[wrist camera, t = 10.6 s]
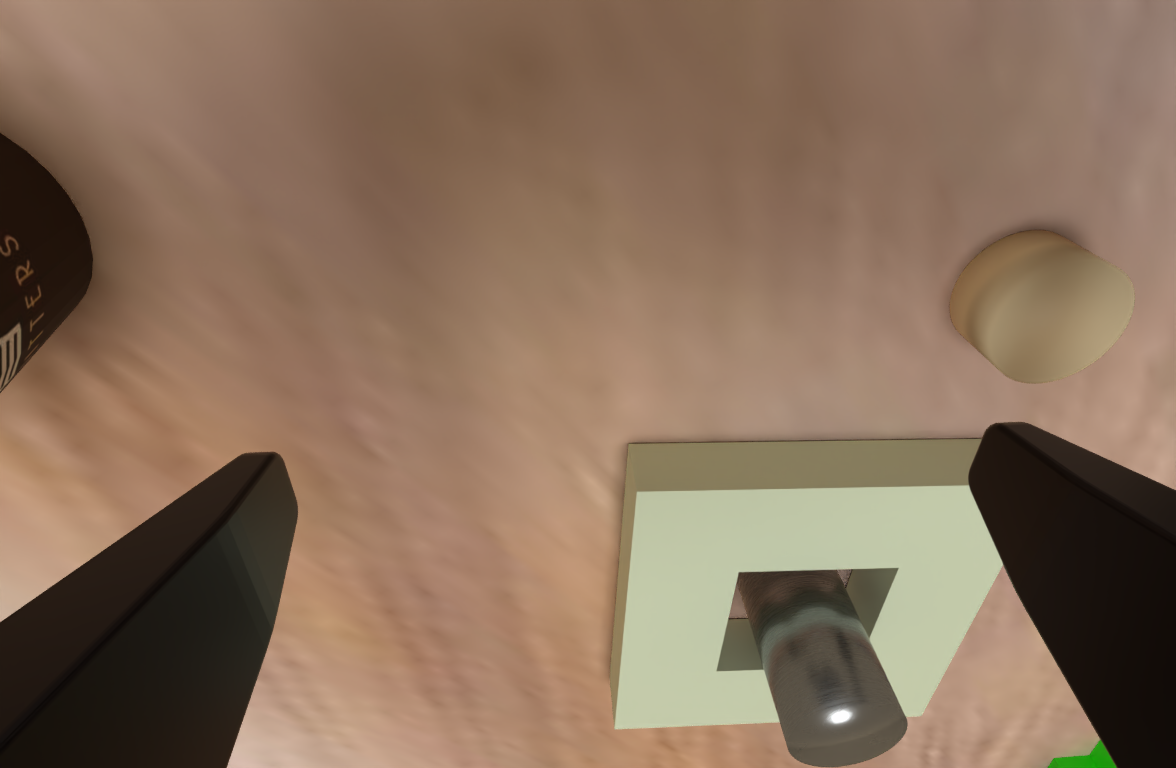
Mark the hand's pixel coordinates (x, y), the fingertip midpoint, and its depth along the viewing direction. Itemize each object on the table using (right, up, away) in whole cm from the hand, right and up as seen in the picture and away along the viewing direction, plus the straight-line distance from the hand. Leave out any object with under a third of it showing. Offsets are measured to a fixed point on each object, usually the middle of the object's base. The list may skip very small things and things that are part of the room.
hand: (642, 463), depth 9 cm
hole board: (+8, -7, +20) cm, 22 cm away
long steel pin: (+8, -7, +20) cm, 22 cm away
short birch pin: (+13, +4, +13) cm, 19 cm away
